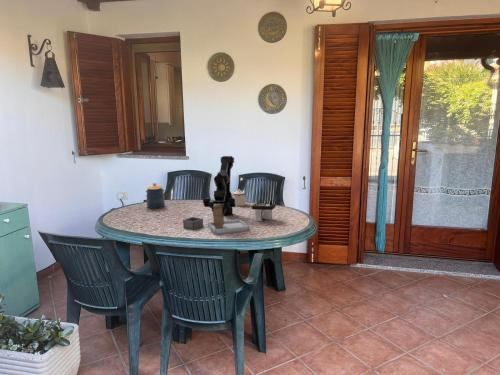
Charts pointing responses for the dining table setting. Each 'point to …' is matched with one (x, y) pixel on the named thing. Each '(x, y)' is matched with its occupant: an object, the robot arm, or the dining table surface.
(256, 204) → the black-topped pedestal
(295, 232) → the dining table surface
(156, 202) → the canister
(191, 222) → the charcoal open-top box
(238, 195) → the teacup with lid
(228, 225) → the plastic tray
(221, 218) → the walnut block
